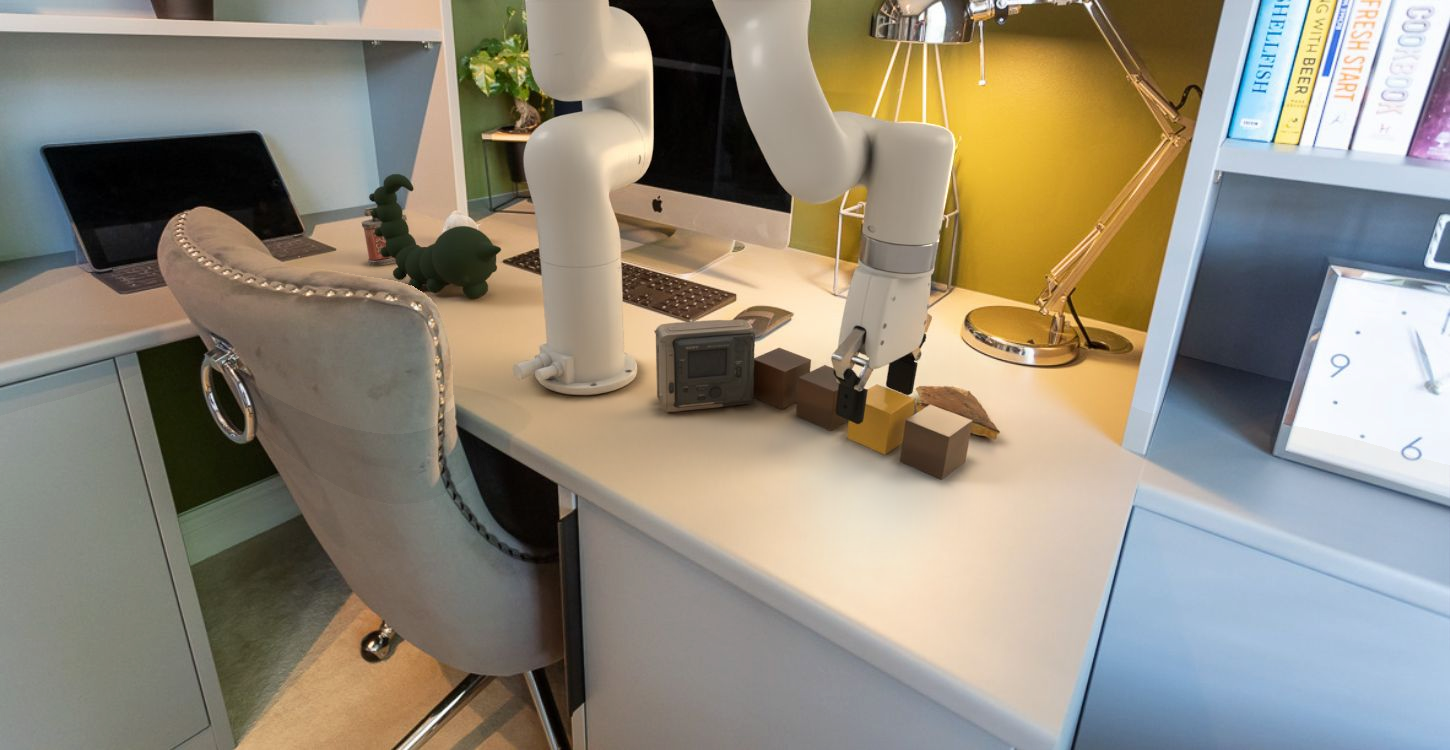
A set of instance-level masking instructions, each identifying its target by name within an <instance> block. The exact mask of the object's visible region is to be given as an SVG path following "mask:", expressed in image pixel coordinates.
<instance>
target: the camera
mask: <svg viewBox="0 0 1450 750" xmlns="http://www.w3.org/2000/svg"><path fill="white" fill-rule="evenodd" d="M754 328H755V327H754V326H753V325H752V324H751V323H750V322H749V320H746V319H710V320H708V319H707V320H696V321H681V322H669V323H662V324H660V325H658V326H657V328H656V329H654V331H653V332H654V334H655V368H656V398H657V400H658V403H659V405H660V407H661V410H663V412H665V413H672V412H682V411H693V410H703V409H712V408H713V409H714V408H721V407H722V408H723V407H731V406H738V405H750V404H752V403H753V399H754V397H753V387H754V358H755V347H756V344H755V343H756V334H755V332H754Z"/></svg>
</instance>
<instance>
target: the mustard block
mask: <svg viewBox="0 0 1450 750" xmlns="http://www.w3.org/2000/svg"><path fill="white" fill-rule="evenodd" d="M866 389H867V390H868V391H867V398H866V405H865V412H864V419H863V422H862V423H860V424H856V423H853V422H851V421H849V420H848V421H847V422H848V424H847V435H846V439H848V440H850V441H853V442H855V443H857V444H860V445H862V446H864V447H866V448H868V449H871V450H873V451H875V452H878V453H880V454H883V456H884V455H885V456H886V455H887V454H888V453H890V452H892V451H893V450H894V449H896V448H898V447H899V446H901V445H902V442H903V434H904V427H905V420H906V419H908V418H909V417H911V416H913V415H914V412H915V410H914V409H915V406H916V405H915V404H916V398H914V397H911V396H910V395H905V394H902V393H900V392H898V391H895V390H893V389H890V388H888V387H887V386H884V385H880V384H877V383H876V384H875V385H872V386H870V387H869V388H866Z"/></svg>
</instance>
